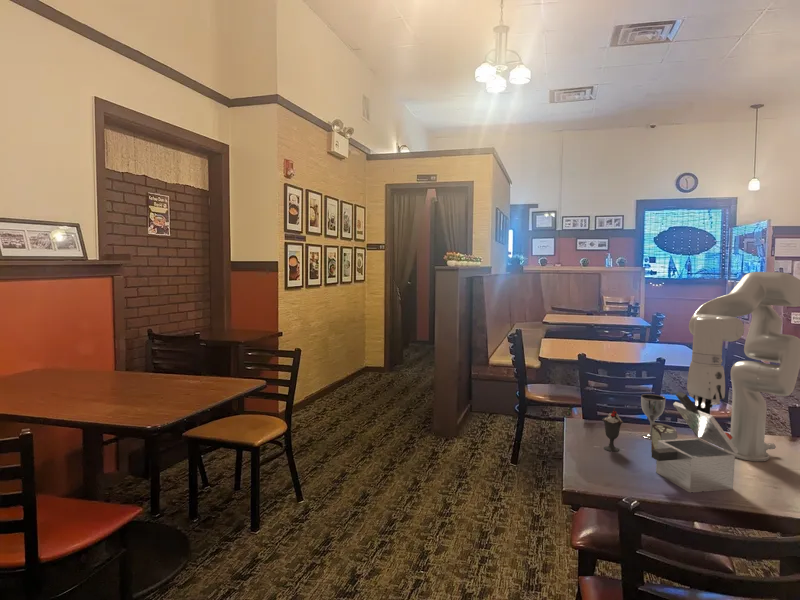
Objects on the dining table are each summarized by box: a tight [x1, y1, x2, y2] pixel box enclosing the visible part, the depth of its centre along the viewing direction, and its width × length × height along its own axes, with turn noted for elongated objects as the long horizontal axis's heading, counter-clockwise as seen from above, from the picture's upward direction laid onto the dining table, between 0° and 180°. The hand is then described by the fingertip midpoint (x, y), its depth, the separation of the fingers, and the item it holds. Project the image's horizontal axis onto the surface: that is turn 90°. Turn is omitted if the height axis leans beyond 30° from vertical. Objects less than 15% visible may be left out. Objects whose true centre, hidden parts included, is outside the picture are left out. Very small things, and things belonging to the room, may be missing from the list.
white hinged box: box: [651, 437, 736, 494], centre depth 152 cm, size 20×14×10 cm
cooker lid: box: [672, 391, 739, 454], centre depth 152 cm, size 20×14×3 cm
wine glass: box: [640, 393, 666, 441], centre depth 190 cm, size 8×8×15 cm
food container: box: [650, 421, 678, 453], centre depth 170 cm, size 12×6×10 cm, turn 168°
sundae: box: [601, 407, 624, 453], centre depth 177 cm, size 7×7×15 cm
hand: (702, 420), depth 154 cm, fingers closed
